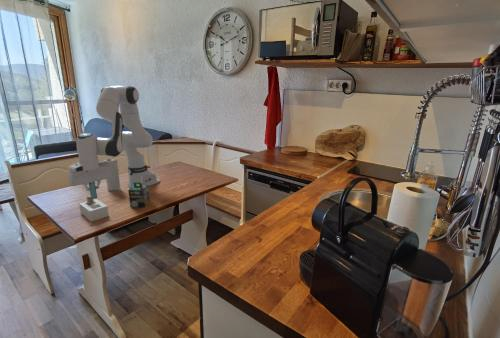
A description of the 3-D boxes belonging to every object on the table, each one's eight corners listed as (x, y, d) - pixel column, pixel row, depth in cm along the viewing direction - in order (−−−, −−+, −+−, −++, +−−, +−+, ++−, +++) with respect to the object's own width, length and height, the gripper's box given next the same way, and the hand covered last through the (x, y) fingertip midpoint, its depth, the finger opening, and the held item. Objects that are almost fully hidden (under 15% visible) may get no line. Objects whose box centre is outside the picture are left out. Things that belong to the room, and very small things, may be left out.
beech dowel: (93, 211, 153) (91, 195, 150) (96, 212, 151) (93, 196, 148) (88, 212, 151) (85, 196, 148) (90, 214, 149) (87, 198, 146)
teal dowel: (95, 196, 146) (93, 179, 143) (98, 198, 144) (95, 180, 141) (90, 198, 143) (87, 180, 141) (92, 199, 142) (89, 182, 139)
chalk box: (150, 201, 168) (148, 179, 164) (145, 207, 160) (143, 184, 155) (135, 201, 168) (133, 179, 163) (129, 207, 159) (127, 184, 155)
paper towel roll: (105, 189, 183) (101, 160, 177) (113, 187, 188) (110, 158, 182) (112, 192, 180) (108, 161, 174) (120, 189, 185) (117, 159, 179)
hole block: (97, 208, 157) (96, 198, 155) (108, 215, 148) (107, 205, 147) (80, 213, 150) (79, 203, 148) (91, 221, 142) (89, 211, 140)
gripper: (107, 160, 148) (109, 183, 152) (65, 167, 132) (69, 193, 136) (112, 162, 144) (115, 186, 148) (69, 170, 129) (74, 196, 133)
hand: (92, 189), depth 142 cm, fingers closed on teal dowel, 3 cm apart
